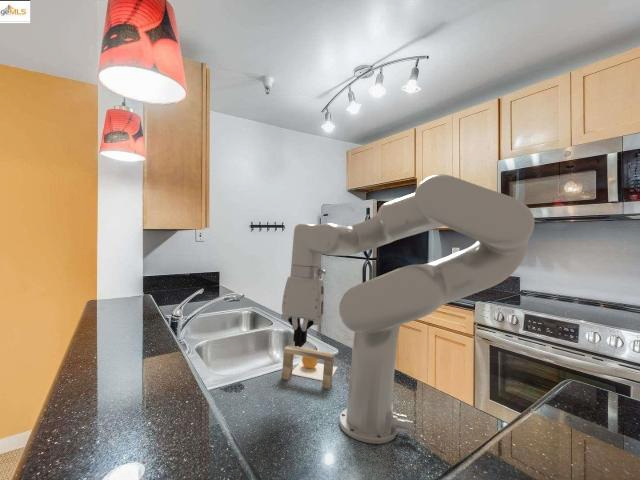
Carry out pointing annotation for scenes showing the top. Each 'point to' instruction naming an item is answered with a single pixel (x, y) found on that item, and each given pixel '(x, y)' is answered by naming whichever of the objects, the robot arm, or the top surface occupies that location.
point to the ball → (309, 362)
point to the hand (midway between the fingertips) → (299, 345)
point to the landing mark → (311, 371)
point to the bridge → (325, 356)
